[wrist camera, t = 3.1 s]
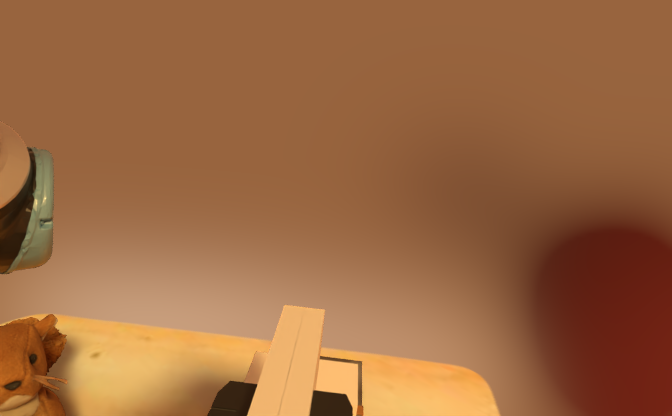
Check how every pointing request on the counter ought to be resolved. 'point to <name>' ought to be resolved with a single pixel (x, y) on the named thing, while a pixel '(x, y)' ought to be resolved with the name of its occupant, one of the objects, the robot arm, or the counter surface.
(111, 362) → the counter surface
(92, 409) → the counter surface
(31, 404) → the stuffed squirrel
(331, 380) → the fader knob
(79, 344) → the counter surface
